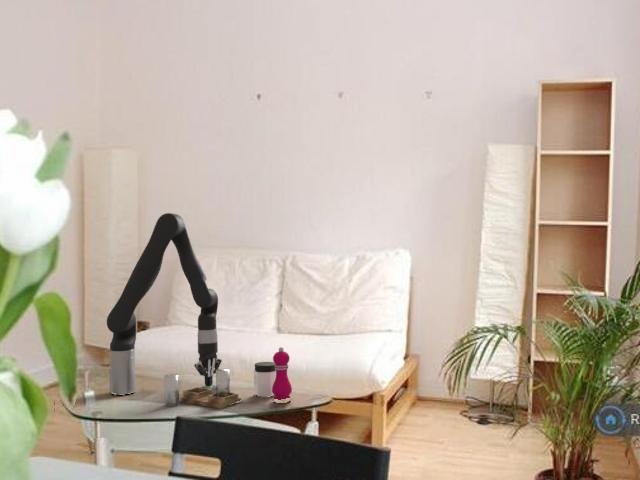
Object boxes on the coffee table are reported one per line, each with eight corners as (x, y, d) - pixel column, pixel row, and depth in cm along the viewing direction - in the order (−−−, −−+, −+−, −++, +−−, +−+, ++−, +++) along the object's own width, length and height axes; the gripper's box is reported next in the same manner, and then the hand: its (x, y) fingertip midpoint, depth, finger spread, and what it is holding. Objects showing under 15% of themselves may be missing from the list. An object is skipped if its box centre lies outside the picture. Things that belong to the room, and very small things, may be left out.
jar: (280, 396, 270) (279, 364, 270) (260, 398, 266) (259, 366, 266) (271, 391, 278) (270, 360, 278) (251, 393, 275) (251, 362, 274)
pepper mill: (289, 404, 257) (288, 349, 257) (270, 403, 258) (268, 348, 258) (294, 399, 264) (293, 345, 264) (275, 399, 265) (274, 345, 265)
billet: (162, 405, 259) (161, 375, 258) (172, 403, 263) (171, 373, 262) (171, 407, 256) (171, 377, 255) (182, 404, 260) (181, 374, 260)
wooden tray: (179, 401, 265) (179, 392, 265) (201, 395, 274) (201, 386, 274) (220, 408, 253) (220, 399, 252) (241, 402, 261) (241, 392, 261)
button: (203, 393, 275) (202, 386, 275) (208, 392, 278) (208, 384, 278) (208, 394, 273) (208, 386, 273) (214, 393, 276) (213, 385, 276)
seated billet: (213, 400, 259) (212, 370, 258) (223, 397, 263) (222, 367, 263) (223, 402, 256) (223, 371, 256) (233, 399, 260) (232, 369, 260)
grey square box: (197, 394, 275) (197, 387, 275) (208, 391, 280) (208, 384, 280) (208, 396, 271) (208, 389, 271) (219, 393, 276) (219, 386, 276)
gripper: (212, 337, 283) (213, 381, 283) (188, 342, 272) (189, 388, 272) (226, 339, 278) (227, 383, 279) (202, 344, 268) (203, 390, 268)
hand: (208, 385), depth 275 cm, fingers closed
